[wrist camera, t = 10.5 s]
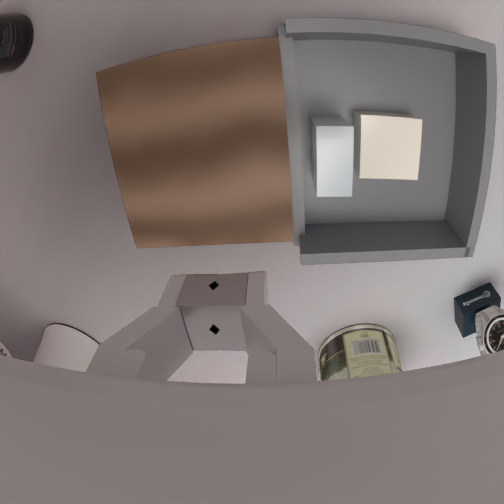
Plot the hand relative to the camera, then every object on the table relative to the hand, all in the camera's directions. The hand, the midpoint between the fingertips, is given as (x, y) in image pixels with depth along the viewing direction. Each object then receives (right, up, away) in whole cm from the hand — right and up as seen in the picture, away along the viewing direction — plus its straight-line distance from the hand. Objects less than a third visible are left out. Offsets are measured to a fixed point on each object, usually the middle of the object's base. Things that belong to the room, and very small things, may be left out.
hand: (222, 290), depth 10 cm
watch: (+29, -5, +23) cm, 37 cm away
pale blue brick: (+5, +9, +12) cm, 16 cm away
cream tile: (+11, +9, +11) cm, 19 cm away
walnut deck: (-3, +11, +16) cm, 20 cm away
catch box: (+12, +11, +14) cm, 22 cm away
